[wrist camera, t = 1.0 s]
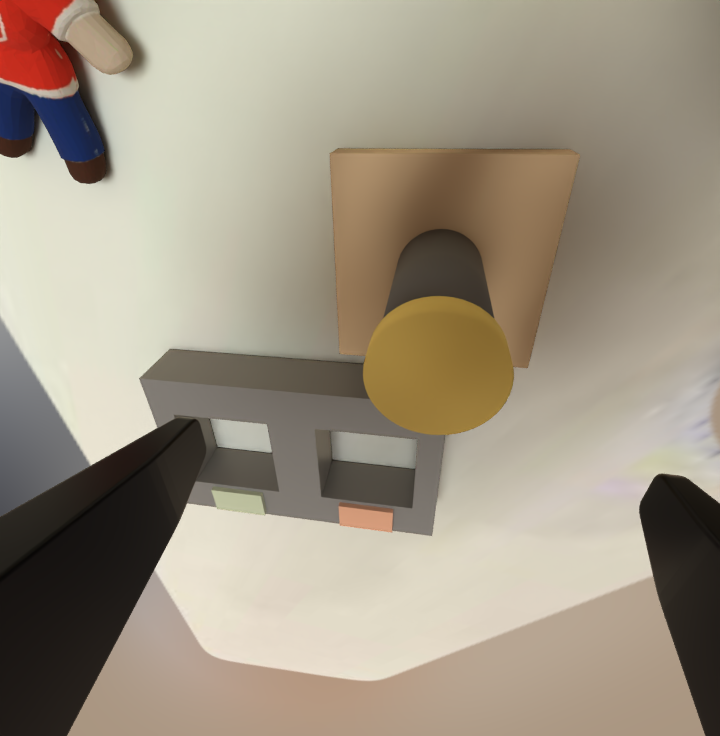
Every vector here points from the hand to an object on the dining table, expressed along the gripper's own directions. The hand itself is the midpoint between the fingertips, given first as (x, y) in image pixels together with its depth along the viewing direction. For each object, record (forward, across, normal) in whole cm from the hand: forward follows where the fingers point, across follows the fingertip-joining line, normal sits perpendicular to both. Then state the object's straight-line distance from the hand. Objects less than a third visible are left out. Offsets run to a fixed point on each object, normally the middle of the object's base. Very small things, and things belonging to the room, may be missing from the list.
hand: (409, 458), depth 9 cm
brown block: (+13, 0, 0) cm, 13 cm away
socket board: (+13, +6, +12) cm, 18 cm away
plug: (+11, 0, 0) cm, 11 cm away
